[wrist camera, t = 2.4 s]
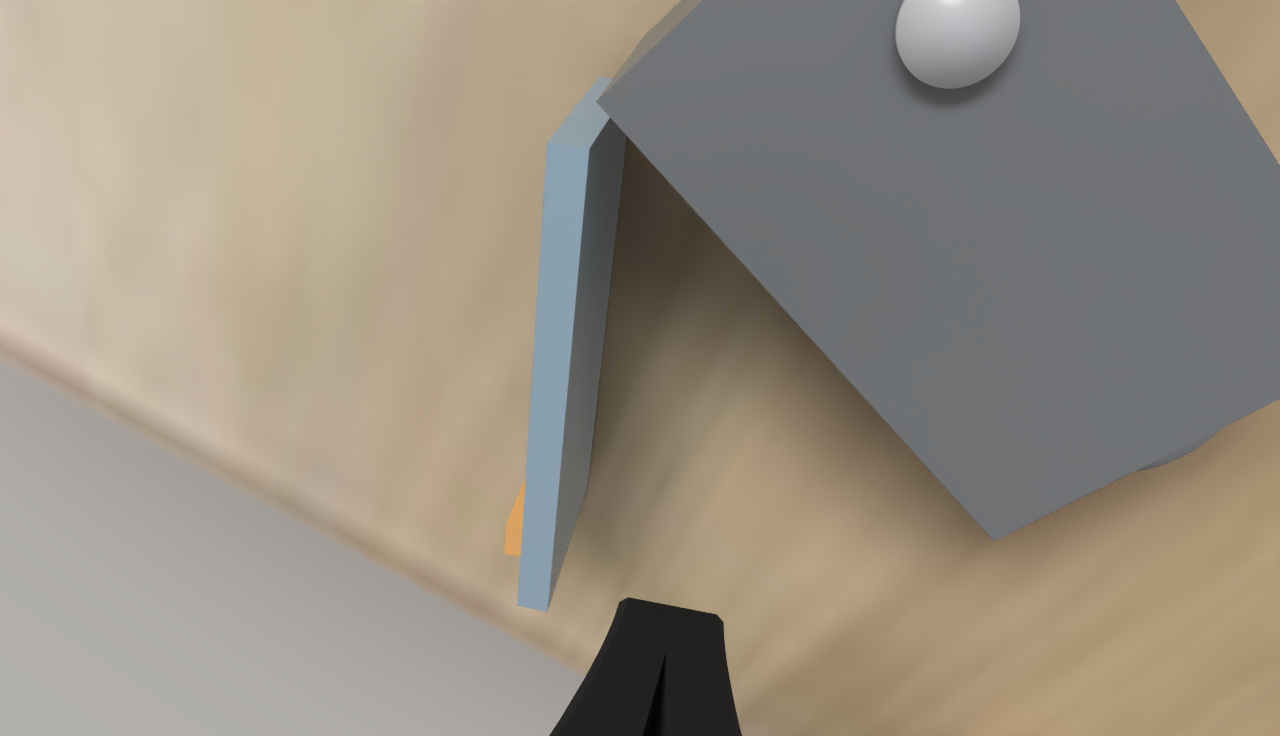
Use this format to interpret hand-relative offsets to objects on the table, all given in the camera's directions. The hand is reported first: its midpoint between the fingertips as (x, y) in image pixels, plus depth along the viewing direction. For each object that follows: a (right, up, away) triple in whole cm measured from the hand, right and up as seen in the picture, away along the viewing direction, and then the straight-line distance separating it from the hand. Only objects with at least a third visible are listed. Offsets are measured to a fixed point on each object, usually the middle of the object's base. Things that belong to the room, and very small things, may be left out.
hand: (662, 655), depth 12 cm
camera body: (+5, +8, +4) cm, 10 cm away
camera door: (-2, +5, +6) cm, 8 cm away
